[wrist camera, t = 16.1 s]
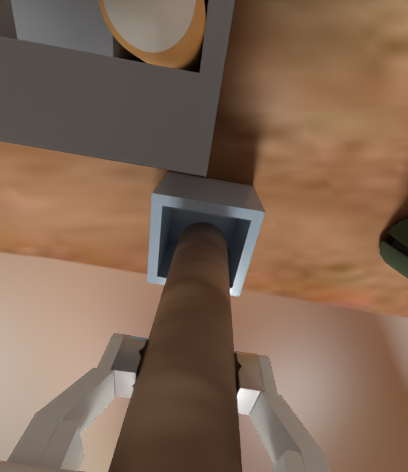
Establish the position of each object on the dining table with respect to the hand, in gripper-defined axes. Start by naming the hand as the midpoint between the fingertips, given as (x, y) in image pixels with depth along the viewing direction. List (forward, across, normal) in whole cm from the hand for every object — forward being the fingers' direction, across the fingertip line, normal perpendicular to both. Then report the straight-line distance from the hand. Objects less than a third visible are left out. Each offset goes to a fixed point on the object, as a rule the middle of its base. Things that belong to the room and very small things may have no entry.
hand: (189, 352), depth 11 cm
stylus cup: (+15, 0, 0) cm, 15 cm away
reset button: (+15, +5, -14) cm, 21 cm away
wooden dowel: (+10, 0, 0) cm, 10 cm away
